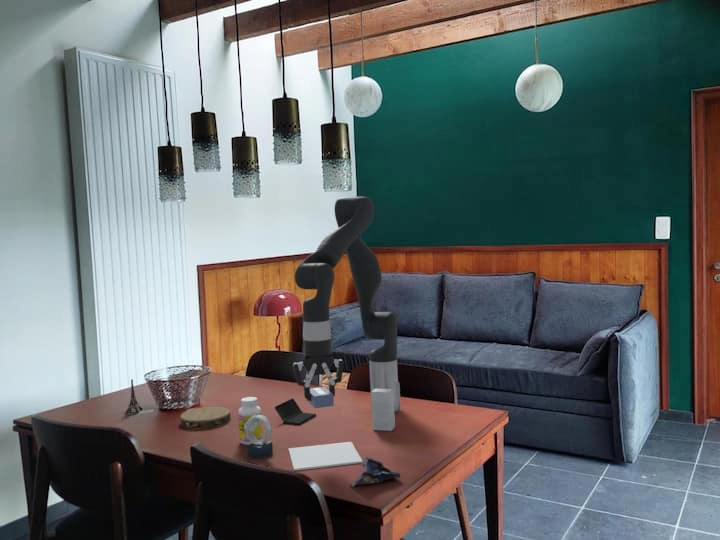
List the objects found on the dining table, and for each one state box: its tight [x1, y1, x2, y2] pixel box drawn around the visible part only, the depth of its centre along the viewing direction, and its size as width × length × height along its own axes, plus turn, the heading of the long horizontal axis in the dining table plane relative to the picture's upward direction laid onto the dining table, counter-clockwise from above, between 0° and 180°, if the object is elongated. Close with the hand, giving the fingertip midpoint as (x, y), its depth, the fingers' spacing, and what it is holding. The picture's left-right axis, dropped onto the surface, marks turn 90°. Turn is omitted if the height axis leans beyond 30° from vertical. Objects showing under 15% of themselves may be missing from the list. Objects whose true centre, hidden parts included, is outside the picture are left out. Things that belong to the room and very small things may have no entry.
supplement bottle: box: [237, 396, 263, 446], centre depth 189 cm, size 7×7×13 cm
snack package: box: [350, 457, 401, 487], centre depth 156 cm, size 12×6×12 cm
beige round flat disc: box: [180, 406, 231, 429], centre depth 212 cm, size 16×16×3 cm
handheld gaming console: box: [274, 398, 317, 426], centre depth 210 cm, size 12×7×10 cm
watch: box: [244, 414, 274, 460], centre depth 177 cm, size 6×8×11 cm
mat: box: [287, 441, 364, 472], centre depth 174 cm, size 18×16×1 cm
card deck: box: [306, 386, 335, 409], centre depth 173 cm, size 9×5×3 cm, turn 18°
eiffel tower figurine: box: [118, 379, 155, 421], centre depth 226 cm, size 15×10×13 cm
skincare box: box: [370, 388, 396, 432], centre depth 195 cm, size 6×4×12 cm
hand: (319, 399), depth 173 cm, fingers closed on card deck, 5 cm apart
